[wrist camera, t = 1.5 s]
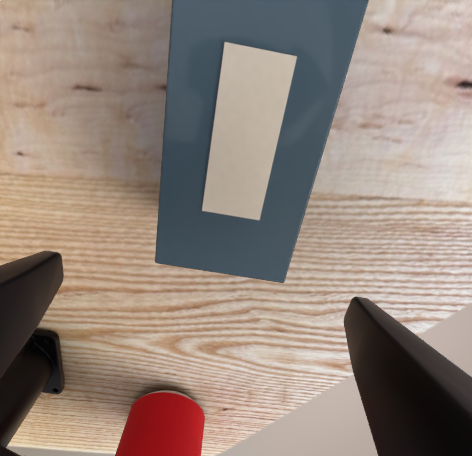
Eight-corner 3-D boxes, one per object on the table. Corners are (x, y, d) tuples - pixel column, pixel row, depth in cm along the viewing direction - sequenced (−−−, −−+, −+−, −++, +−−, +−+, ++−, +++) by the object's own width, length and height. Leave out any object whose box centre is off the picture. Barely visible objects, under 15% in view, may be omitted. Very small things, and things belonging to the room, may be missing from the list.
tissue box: (274, 234, 19) (284, 285, 14) (176, 217, 18) (153, 264, 14) (336, -6, 13) (385, -50, 9) (200, -35, 13) (177, -97, 8)
